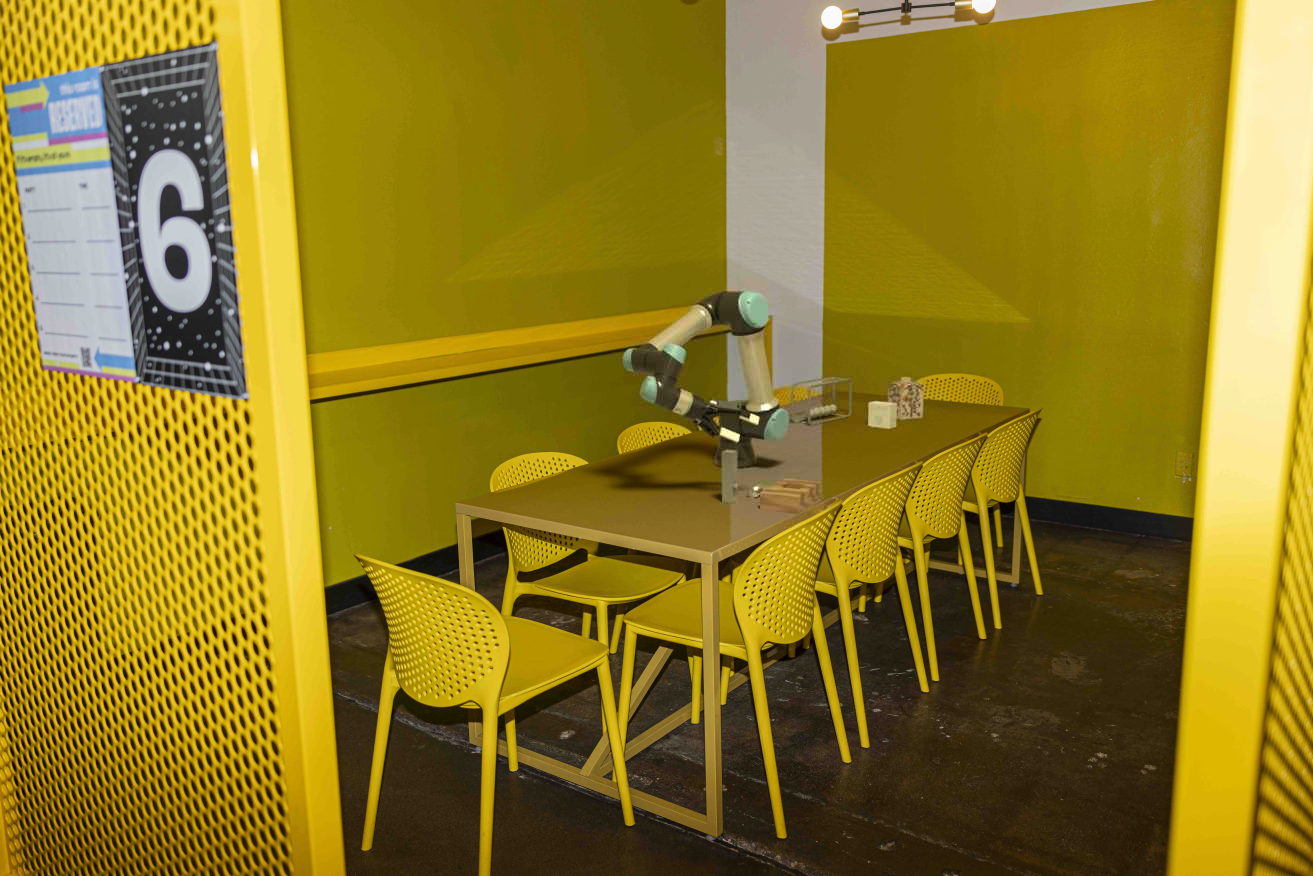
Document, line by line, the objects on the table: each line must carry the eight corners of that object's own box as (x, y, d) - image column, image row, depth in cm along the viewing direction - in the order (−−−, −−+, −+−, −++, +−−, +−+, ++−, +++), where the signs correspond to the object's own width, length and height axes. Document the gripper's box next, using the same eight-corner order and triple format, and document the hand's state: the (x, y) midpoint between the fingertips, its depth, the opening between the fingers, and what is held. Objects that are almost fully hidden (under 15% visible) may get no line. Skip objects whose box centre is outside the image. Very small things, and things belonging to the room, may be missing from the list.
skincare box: (896, 426, 418) (897, 402, 416) (889, 429, 413) (890, 404, 411) (874, 424, 425) (875, 400, 423) (867, 426, 420) (868, 402, 418)
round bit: (764, 493, 319) (757, 484, 319) (772, 486, 317) (765, 478, 317) (752, 500, 310) (745, 491, 311) (760, 493, 308) (752, 485, 309)
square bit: (727, 499, 308) (726, 449, 305) (737, 500, 307) (737, 450, 304) (722, 502, 305) (721, 452, 302) (732, 503, 304) (732, 453, 300)
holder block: (784, 493, 314) (785, 478, 313) (820, 497, 308) (820, 482, 307) (760, 508, 297) (760, 492, 296) (797, 513, 291) (797, 497, 290)
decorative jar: (886, 416, 443) (887, 376, 439) (909, 414, 446) (910, 375, 443) (900, 420, 432) (901, 380, 428) (923, 418, 435) (925, 378, 432)
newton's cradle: (809, 426, 424) (809, 385, 420) (790, 423, 431) (790, 383, 428) (851, 416, 443) (852, 378, 440) (833, 414, 451) (833, 375, 447)
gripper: (670, 431, 313) (728, 455, 318) (702, 397, 293) (764, 423, 297) (674, 411, 317) (732, 436, 322) (707, 376, 296) (768, 403, 301)
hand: (748, 430), depth 310 cm, fingers open, 13 cm apart
